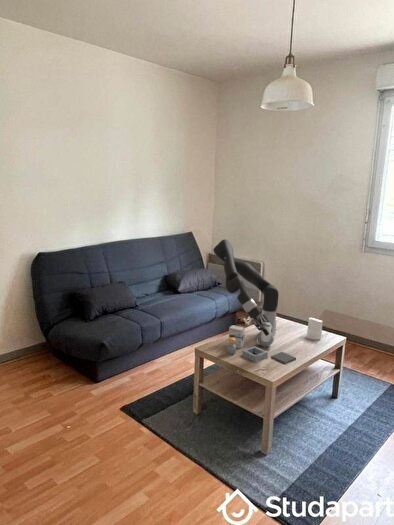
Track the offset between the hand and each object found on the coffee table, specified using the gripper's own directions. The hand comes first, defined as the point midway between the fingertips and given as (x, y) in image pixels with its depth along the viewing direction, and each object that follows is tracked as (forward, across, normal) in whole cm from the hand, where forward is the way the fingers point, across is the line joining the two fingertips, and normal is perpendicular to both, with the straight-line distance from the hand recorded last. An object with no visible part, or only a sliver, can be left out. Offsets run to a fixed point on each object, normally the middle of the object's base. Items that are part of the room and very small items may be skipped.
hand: (269, 333), depth 219 cm
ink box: (-4, -6, -27) cm, 28 cm away
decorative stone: (+6, -15, -16) cm, 23 cm away
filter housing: (+3, +3, -19) cm, 20 cm away
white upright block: (+22, -48, 0) cm, 52 cm away
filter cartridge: (+2, 0, -5) cm, 5 cm away
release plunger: (-7, +6, -21) cm, 23 cm away
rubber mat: (+16, -4, -5) cm, 18 cm away
